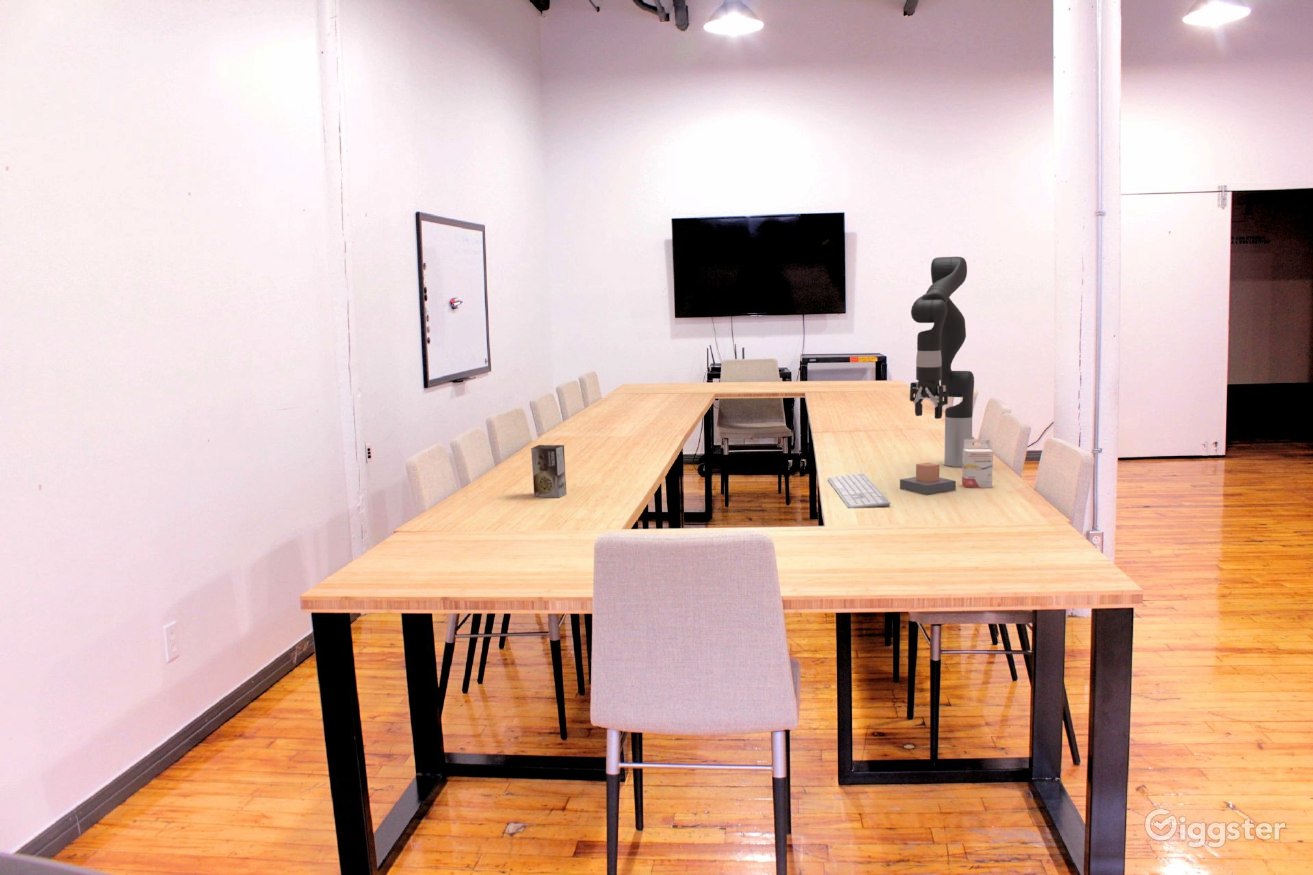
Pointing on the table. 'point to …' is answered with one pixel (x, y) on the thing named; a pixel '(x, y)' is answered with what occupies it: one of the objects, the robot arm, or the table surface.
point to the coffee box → (548, 470)
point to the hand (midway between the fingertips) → (928, 417)
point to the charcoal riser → (928, 485)
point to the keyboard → (858, 491)
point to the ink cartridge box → (977, 464)
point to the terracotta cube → (927, 472)
